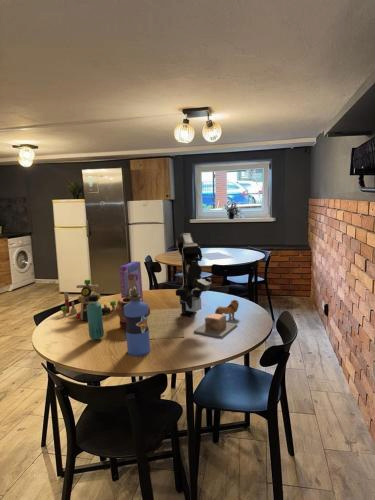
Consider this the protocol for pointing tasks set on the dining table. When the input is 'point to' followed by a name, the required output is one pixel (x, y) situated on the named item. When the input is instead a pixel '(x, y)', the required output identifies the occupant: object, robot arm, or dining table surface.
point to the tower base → (216, 333)
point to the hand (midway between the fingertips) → (193, 306)
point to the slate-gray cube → (194, 304)
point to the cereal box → (130, 279)
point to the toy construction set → (84, 302)
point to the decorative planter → (120, 311)
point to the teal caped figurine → (95, 318)
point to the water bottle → (137, 326)
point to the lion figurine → (228, 309)
